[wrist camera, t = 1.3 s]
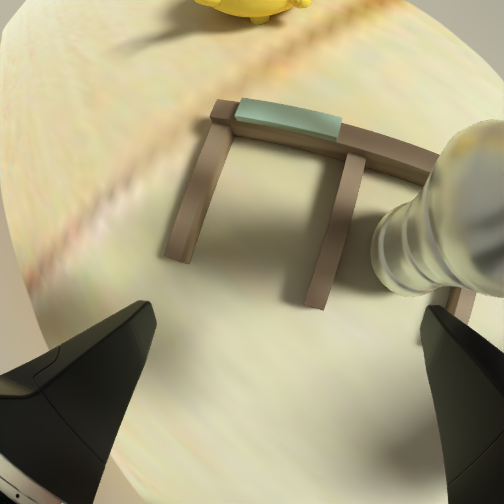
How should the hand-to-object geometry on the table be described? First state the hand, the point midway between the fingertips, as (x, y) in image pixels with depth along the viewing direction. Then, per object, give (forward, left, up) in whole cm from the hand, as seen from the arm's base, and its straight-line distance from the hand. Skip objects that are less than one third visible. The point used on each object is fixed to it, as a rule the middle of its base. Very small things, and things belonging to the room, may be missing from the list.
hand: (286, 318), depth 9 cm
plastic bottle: (+6, -7, -15) cm, 17 cm away
